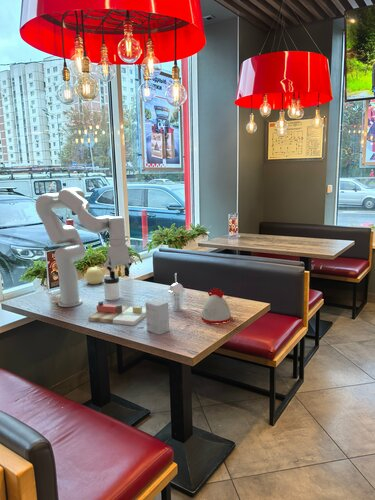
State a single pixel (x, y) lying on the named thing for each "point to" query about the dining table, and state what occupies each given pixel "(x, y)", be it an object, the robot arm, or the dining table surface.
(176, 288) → the cup with straw
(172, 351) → the dining table surface
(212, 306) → the kitchen timer
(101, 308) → the swing bar
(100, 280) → the pale yellow ball
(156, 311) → the small box
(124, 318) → the door
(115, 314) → the tan wavy block
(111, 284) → the jar
